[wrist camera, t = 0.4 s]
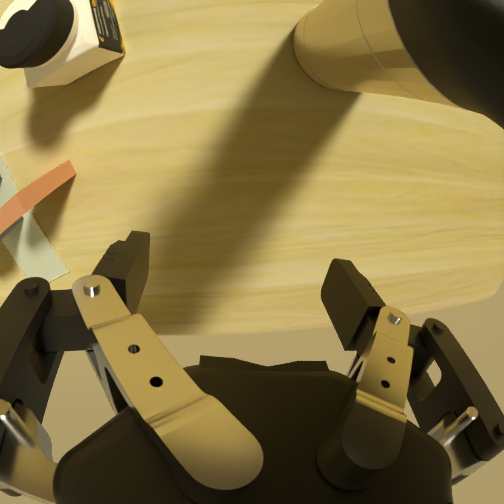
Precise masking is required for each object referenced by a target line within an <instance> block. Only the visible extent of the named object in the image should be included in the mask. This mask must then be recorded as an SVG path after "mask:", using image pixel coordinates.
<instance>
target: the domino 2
mask: <svg viewBox="0 0 504 504" xmlns="http://www.w3.org/2000/svg"><path fill="white" fill-rule="evenodd" d="M75 174H76V172H75V170H74V168H73V166H72V164H71V162H70V160H68V161H66V162H64V163H63V164H61V165H59V166H58V167H56V168H54V169H53V170H51V171H50V172H48V173H46V174H45V175H43V176H42V177H40V178H38V179H37V180H35V181H34V182H32V183H31V184H29V185H28V186H26V187H25V188H24V189H22V190H21V191H19V192H18V193H16V194H15V195H14V196H13V197H12V198H11V199H10V200H8V201H7V202H6V203H5V204H4V205H3V206H2V207H1V208H0V234H1V233H2V232H3V231H5V230H6V229H7V228H8V227H9V226H10V225H12V224H13V223H14V222H15V221H16V220H18V219H19V218H20V217H21V216H22V215H24V214H25V213H26V212H27V211H29V210H30V209H31V208H32V207H33V206H35V205H36V204H37V203H38V202H40V201H41V200H42V199H43V198H45V197H46V196H47V195H48V194H50V193H51V192H52V191H54V190H55V189H56V188H58V187H59V186H60V185H62V184H63V183H64V182H66V181H67V180H68V179H70V178H71V177H73V176H74V175H75Z"/></svg>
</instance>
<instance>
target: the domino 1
mask: <svg viewBox="0 0 504 504" xmlns="http://www.w3.org/2000/svg"><path fill="white" fill-rule="evenodd" d="M23 219H24V218H23V216H21V217H20V218H19V219H18V220H16V221H15V222H14V223H13V224H12V225H10V226H9V227H8V228H7V229H6V230H5V231H3V232H2V233H1V234H0V241H1V240H2V239H3V238H4V237H5V236H6V235H7V234H8V233H9V232H10V231H11V230H12V229H13V228H14V227H16V226H17V225H18V224H19V223H20V222H21V221H22V220H23Z"/></svg>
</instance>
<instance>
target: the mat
mask: <svg viewBox="0 0 504 504" xmlns="http://www.w3.org/2000/svg"><path fill="white" fill-rule="evenodd" d="M0 175H1V177H2V180H1V181H0V208H1V207H2V206H3V205H4V204H5V203H6V202H7V201H8V200H10V199H11V198H12V197H13V196H14V195H15V194H16V193H18V192H19V189H18V187H17V185H16V183H15V181H14V179H13V177H12V175H11V173H10V171H9V169H8V167H7V165H6V163H5V161H4V159H3V156H2V154H1V152H0ZM22 216H23V218H24V219H23V220H22V221H21V222H20V223H19V224H18V225H17V226H16V227H14V228H13V229H12V230H11V231H10V232H9V233H8V234H7V235H6V236H5V237H4V238H3V239H2V242H3V244H4V245H5V247H6V248H7V250H8V251H9V253H10V255H11V256H12V258H13V259H14V260H15V262H16V263H17V265H18V266H19V268H20V269H21V271H22V272H23V273H24V275H25V276H26V278H30V277H41V278H44V279H46V280H47V281H48V282H51V281H53V280H55V279H57V278H59V277H61V276H63V275H65V274H67V273H68V272H69V270H68V268H67V267H66V265H65V264H64V263H63V261H62V260H61V258H60V257H59V255H58V254H57V252H56V251H55V249H54V248H53V246H52V245H51V243H50V242H49V240H48V239H47V237H46V236H45V234H44V232H43V231H42V229H41V228H40V226H39V224H38V223H37V221H36V219H35V218H34V216H33V214H32V213H31V211H30V210H29V211H27V212H26V213H25V214H24V215H22Z"/></svg>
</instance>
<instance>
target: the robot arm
mask: <svg viewBox="0 0 504 504" xmlns="http://www.w3.org/2000/svg"><path fill="white" fill-rule="evenodd" d="M293 47H294V52H295V56H296V58H297V60H298V62H299V64H300V66H301V67H302V68H303V70H304V71H305V72H306V73H307V74H308V75H309V76H310V77H311V78H312V79H313V80H315V81H316V82H318V83H319V84H321V85H323V86H325V87H328V88H330V89H335V90H341V91H348V92H349V91H355V92H365V93H375V94H384V95H392V96H399V97H406V98H412V99H418V100H424V101H429V102H435V103H440V104H444V105H449V106H453V107H457V108H462V109H466V110H470V111H473V112H477V113H480V114H483V115H485V116H486V117H488V118H490V119H491V120H492V121H494V122H495V123H496V124H498V125H499V126H500V127H502V128H503V129H504V0H323V1H322V2H321V3H319V4H318V5H317V6H315V7H314V8H313V9H312V10H310V11H309V12H308V13H307V14H306V15H305V16H304V17H303V18H302V19H301V20H300V21H299V23H298V24H297V26H296V28H295V32H294V35H293ZM149 247H150V233H148V232H140V231H133V230H132V231H131V233H130V234H129V236H128V238H127V239H126V241H120V240H118V241H117V242H115V243H113V244H112V245H110V247H109V248H108V249H107V251H106V253H105V254H104V255H103V257H102V259H101V260H100V262H99V263H98V265H97V266H96V268H95V269H94V271H93V273H92V274H91V275H87V276H83V277H81V278H79V279H77V280H76V281H75V282H74V283H73V285H72V289H69V290H51V289H50V285H49V282H48V281H47V280H46V279H44V278H41V277H30V278H26V279H24V280H22V281H20V282H19V283H18V284H17V285H16V286H15V288H14V289H13V290H12V292H11V293H10V295H9V296H8V297H7V299H6V300H5V302H4V303H3V305H2V306H1V308H0V490H1V491H2V492H4V493H6V494H8V495H10V496H21V495H24V496H27V497H29V498H32V499H34V500H37V501H39V502H42V503H45V504H453V498H452V488H451V487H452V485H455V484H457V483H458V482H460V481H461V480H463V479H464V478H466V477H467V476H469V475H470V474H472V473H473V472H475V471H476V470H477V469H479V468H480V467H482V466H483V465H484V464H485V463H487V462H488V461H490V460H491V459H492V458H494V457H495V456H496V455H498V454H499V453H500V452H501V451H502V450H504V415H503V413H502V411H501V410H500V408H499V406H498V404H497V403H496V401H495V399H494V397H493V396H492V394H491V392H490V391H489V389H488V387H487V386H486V384H485V382H484V381H483V379H482V378H481V376H480V375H479V373H478V371H477V370H476V368H475V367H474V365H473V364H472V362H471V361H470V359H469V358H468V356H467V355H466V353H465V352H464V350H463V349H462V348H461V346H460V344H459V343H458V341H457V340H456V339H455V337H454V336H453V335H452V333H451V332H450V330H449V329H448V328H447V326H446V325H444V324H443V323H442V322H440V321H438V320H436V319H433V318H428V319H426V320H425V322H424V324H423V325H422V327H419V326H415V325H411V324H410V320H409V318H408V317H407V316H406V314H404V313H403V312H402V311H400V310H399V309H397V308H394V307H390V306H386V305H385V303H384V302H383V300H382V299H381V298H380V296H379V295H378V293H377V292H375V289H374V288H373V286H371V284H370V282H369V281H368V280H367V278H366V277H364V276H363V275H362V274H361V273H359V271H358V270H357V269H356V267H355V266H354V265H353V263H352V262H351V261H350V260H344V259H337V258H335V259H333V260H332V262H331V264H330V267H329V269H328V272H327V275H326V278H325V280H324V283H323V286H322V289H321V300H322V302H323V304H324V306H325V308H326V311H327V313H328V315H329V317H330V319H331V321H332V323H333V326H334V328H335V330H336V332H337V334H338V337H339V338H340V341H341V343H342V345H343V348H344V350H345V351H357V353H356V355H355V356H354V358H353V361H352V363H351V365H350V367H349V370H348V372H347V374H346V376H345V375H343V374H341V373H338V372H335V371H331V370H329V369H328V366H327V363H326V361H295V362H291V363H285V364H280V365H275V366H263V365H258V364H254V363H250V362H246V361H242V360H239V359H235V358H224V357H213V356H202V355H201V356H200V363H199V365H194V366H189V367H185V368H182V367H181V366H180V365H179V364H178V362H177V361H176V360H175V358H174V357H173V356H172V355H171V353H170V352H169V351H168V350H167V348H166V347H165V346H164V345H163V343H162V342H161V341H160V339H159V338H158V337H157V335H156V334H155V333H154V331H153V330H152V329H151V327H150V326H149V324H148V323H147V322H146V320H145V319H144V318H143V316H142V315H141V314H140V313H136V310H137V307H138V304H139V301H140V298H141V295H142V292H143V289H144V286H145V284H146V281H147V277H148V271H149ZM76 350H85V352H86V354H87V356H88V358H89V361H90V362H91V365H92V367H93V369H94V371H95V373H96V375H97V377H98V379H99V381H100V383H101V385H102V387H103V389H104V391H105V393H106V395H107V398H108V400H109V402H110V405H111V407H112V409H113V410H114V412H115V414H116V416H115V417H113V418H112V419H111V420H109V421H108V422H107V423H105V424H104V425H103V426H102V427H100V428H99V429H98V430H96V431H95V432H94V433H92V434H91V435H90V436H88V437H87V438H86V439H84V440H83V441H82V442H80V443H79V444H78V445H76V446H75V447H73V448H72V449H71V450H69V451H68V452H67V453H66V454H65V455H64V456H63V457H62V458H61V460H60V461H59V463H55V462H54V461H53V458H52V444H51V439H50V437H49V435H48V433H47V432H46V430H45V429H44V428H43V426H42V425H41V424H42V420H43V417H44V413H45V409H46V406H47V402H48V399H49V396H50V392H51V389H52V386H53V383H54V380H55V377H56V374H57V371H58V368H59V365H60V362H61V359H62V357H63V354H64V351H76ZM434 360H435V361H436V363H437V364H438V366H439V368H440V370H441V372H442V376H441V380H440V382H439V383H438V385H437V386H436V387H435V386H434V384H433V382H432V381H431V379H430V377H429V375H428V373H427V372H426V370H427V369H428V368H429V366H430V365H431V364H432V362H433V361H434ZM406 397H407V399H408V401H409V403H410V406H411V408H412V410H413V413H414V415H415V417H416V420H417V422H418V424H419V427H420V428H418V427H417V426H416V425H414V424H413V423H412V422H410V421H409V420H407V417H406V415H405V414H404V407H405V402H406Z"/></svg>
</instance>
